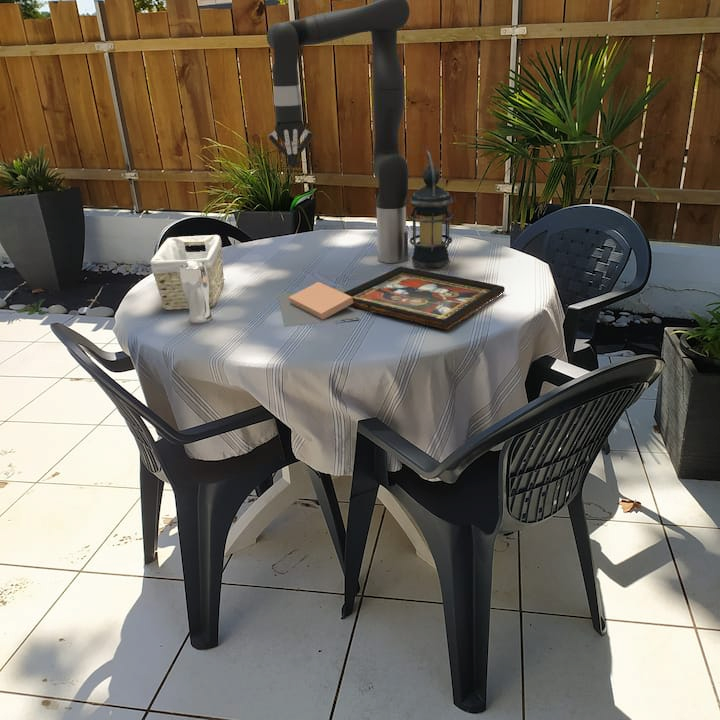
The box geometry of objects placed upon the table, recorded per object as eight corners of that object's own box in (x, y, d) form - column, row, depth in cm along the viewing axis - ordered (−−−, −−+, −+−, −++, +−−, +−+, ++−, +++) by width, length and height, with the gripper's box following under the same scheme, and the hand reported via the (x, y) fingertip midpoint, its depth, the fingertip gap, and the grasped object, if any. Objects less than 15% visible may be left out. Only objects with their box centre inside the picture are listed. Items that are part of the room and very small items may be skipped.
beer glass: (217, 314, 175) (209, 260, 168) (209, 324, 169) (201, 268, 162) (192, 314, 176) (183, 260, 169) (183, 324, 170) (174, 269, 163)
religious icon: (509, 288, 183) (510, 279, 182) (460, 335, 156) (461, 324, 155) (389, 271, 201) (389, 262, 200) (327, 310, 174) (326, 300, 173)
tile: (288, 297, 177) (321, 313, 166) (318, 281, 182) (352, 296, 170) (290, 303, 178) (322, 320, 167) (319, 288, 183) (353, 303, 171)
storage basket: (217, 310, 178) (209, 257, 172) (157, 313, 178) (147, 261, 171) (228, 281, 200) (221, 233, 193) (174, 284, 199) (166, 236, 193)
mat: (343, 289, 189) (343, 287, 188) (358, 320, 167) (358, 318, 167) (277, 296, 186) (277, 294, 185) (284, 328, 164) (284, 326, 164)
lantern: (454, 272, 198) (457, 152, 183) (410, 273, 199) (409, 154, 183) (449, 257, 211) (451, 145, 196) (408, 259, 212) (407, 146, 196)
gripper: (264, 105, 177) (271, 171, 185) (313, 103, 179) (317, 167, 187) (263, 103, 184) (269, 167, 192) (309, 101, 186) (314, 163, 194)
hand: (293, 167), depth 189 cm, fingers closed
